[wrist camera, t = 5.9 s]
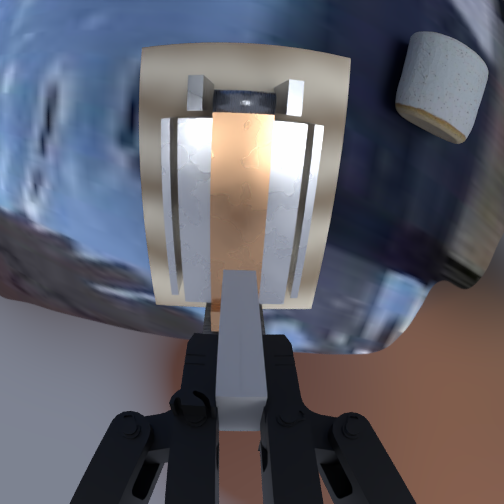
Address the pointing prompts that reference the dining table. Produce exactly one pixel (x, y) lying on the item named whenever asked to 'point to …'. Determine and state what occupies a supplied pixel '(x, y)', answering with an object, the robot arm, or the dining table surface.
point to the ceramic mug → (441, 86)
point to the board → (175, 104)
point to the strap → (239, 184)
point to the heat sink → (198, 196)
